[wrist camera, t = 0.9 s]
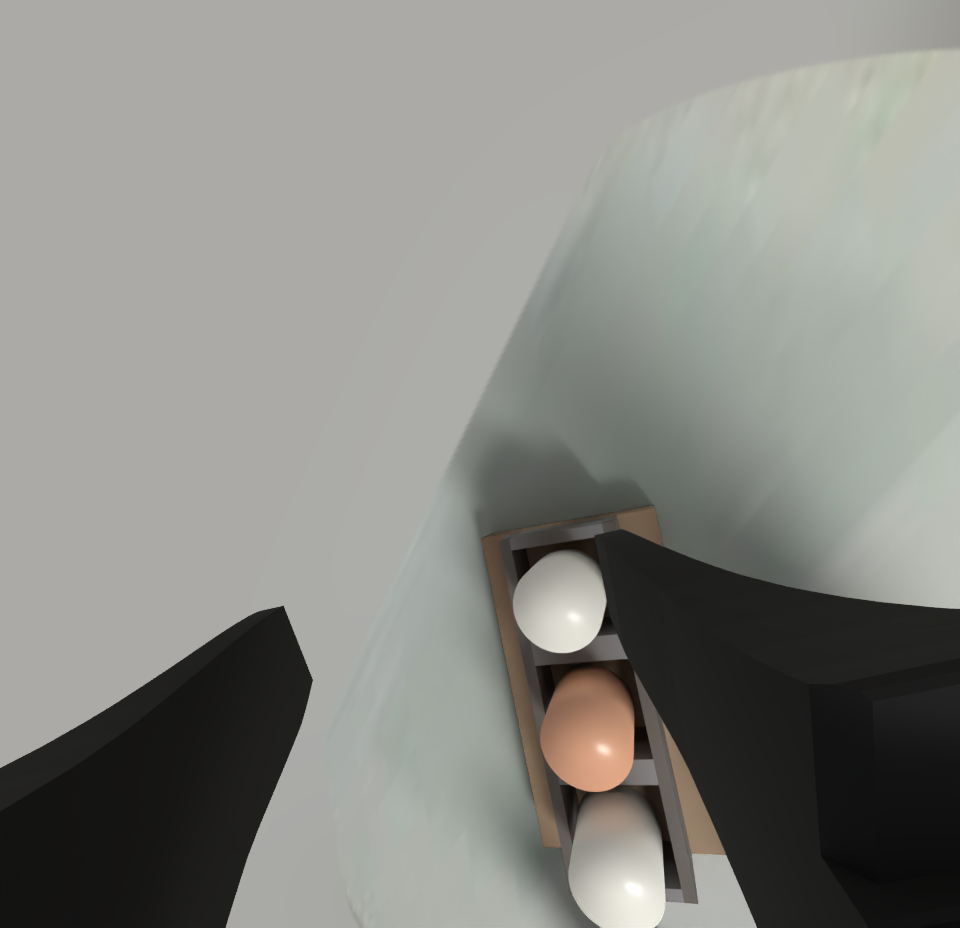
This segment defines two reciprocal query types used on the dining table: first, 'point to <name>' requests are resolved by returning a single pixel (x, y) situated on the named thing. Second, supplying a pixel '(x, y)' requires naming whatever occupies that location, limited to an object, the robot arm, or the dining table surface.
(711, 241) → the dining table surface
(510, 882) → the dining table surface
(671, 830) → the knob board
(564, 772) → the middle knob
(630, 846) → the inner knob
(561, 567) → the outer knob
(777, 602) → the robot arm
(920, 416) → the dining table surface
